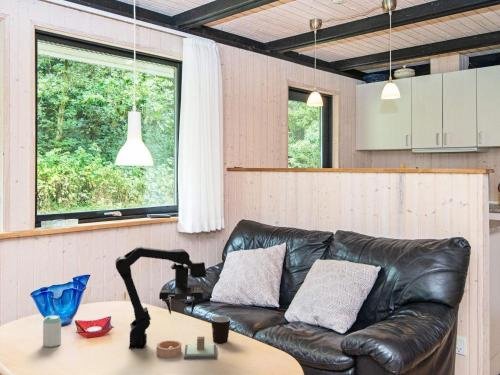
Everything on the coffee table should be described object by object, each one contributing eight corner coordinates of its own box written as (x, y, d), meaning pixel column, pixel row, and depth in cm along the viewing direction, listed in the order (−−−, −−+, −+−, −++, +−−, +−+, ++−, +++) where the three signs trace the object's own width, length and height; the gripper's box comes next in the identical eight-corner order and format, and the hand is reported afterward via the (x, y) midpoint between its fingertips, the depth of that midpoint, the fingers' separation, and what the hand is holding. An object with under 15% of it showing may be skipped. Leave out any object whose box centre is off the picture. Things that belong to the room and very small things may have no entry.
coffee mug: (227, 345, 207) (227, 322, 207) (208, 343, 209) (208, 321, 209) (233, 336, 219) (234, 315, 218) (215, 334, 220) (215, 313, 220)
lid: (186, 355, 192) (186, 342, 192) (187, 345, 203) (187, 333, 203) (214, 355, 193) (214, 342, 193) (213, 345, 204) (213, 333, 204)
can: (54, 348, 199) (54, 320, 199) (39, 347, 200) (39, 318, 200) (64, 342, 206) (64, 315, 205) (49, 341, 207) (49, 313, 207)
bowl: (155, 358, 192) (155, 349, 192) (157, 348, 202) (158, 340, 202) (180, 357, 193) (180, 349, 193) (181, 348, 203) (182, 340, 203)
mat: (184, 359, 191) (184, 356, 191) (185, 347, 204) (185, 344, 204) (216, 358, 193) (216, 356, 193) (216, 346, 206) (216, 344, 206)
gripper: (158, 283, 200) (157, 319, 201) (203, 283, 202) (202, 319, 202) (160, 277, 211) (160, 311, 212) (203, 277, 213) (202, 311, 214)
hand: (181, 313), depth 210 cm, fingers open, 9 cm apart
